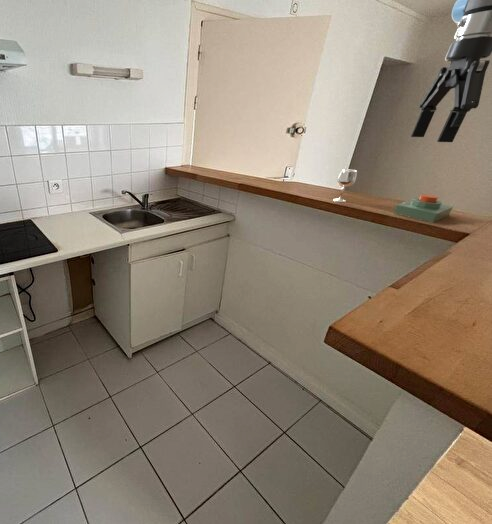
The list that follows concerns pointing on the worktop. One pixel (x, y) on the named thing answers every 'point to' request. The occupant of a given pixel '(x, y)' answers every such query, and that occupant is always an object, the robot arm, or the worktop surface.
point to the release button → (428, 198)
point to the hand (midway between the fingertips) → (429, 139)
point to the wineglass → (346, 181)
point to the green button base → (423, 210)
